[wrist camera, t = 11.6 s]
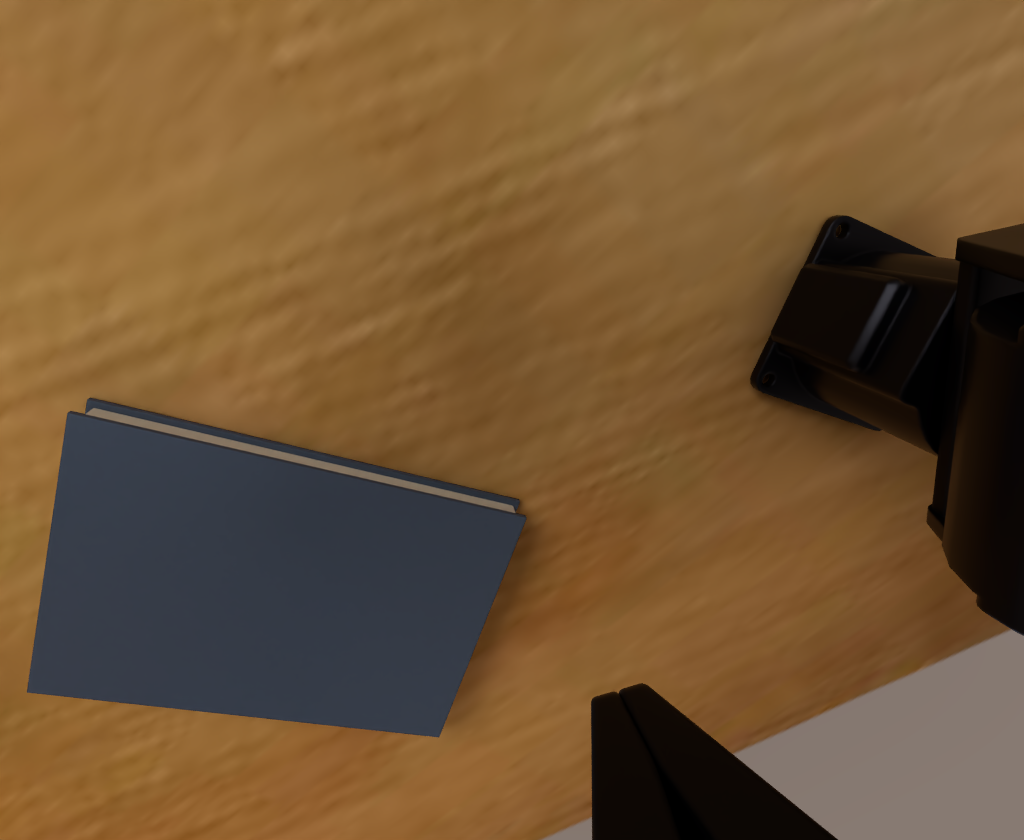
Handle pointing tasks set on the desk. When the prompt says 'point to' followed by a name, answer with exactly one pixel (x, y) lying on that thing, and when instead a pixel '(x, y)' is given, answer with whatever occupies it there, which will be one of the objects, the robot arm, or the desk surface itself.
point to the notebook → (260, 577)
